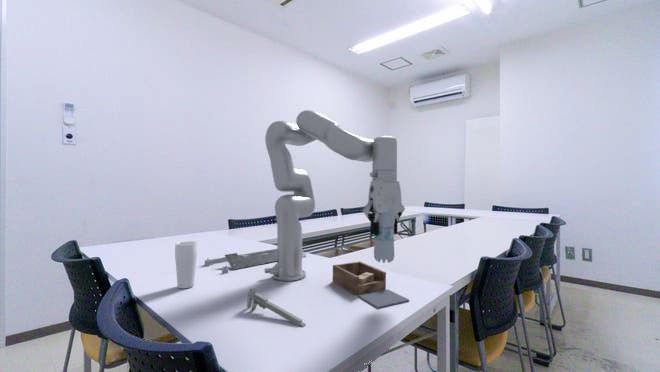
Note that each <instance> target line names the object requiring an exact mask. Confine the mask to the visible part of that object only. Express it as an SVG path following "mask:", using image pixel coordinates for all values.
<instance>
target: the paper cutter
mask: <svg viewBox="0 0 660 372" xmlns="http://www.w3.org/2000/svg"><path fill="white" fill-rule="evenodd" d="M306 256H307V253H306V252H303V251H302V257H303V258H304V257H306ZM226 262H228V264H229V266H230V267H231V269H232V270H237V269H238V270H239V269H244V268H248V267H252V266H259V265H263V264H267V263H268V264H269V263H273V262H277V248H273V249H267V250H260V251H253V252H249V253H248V252H247V253H241V254H238V253H237V252H235V253H234V252H233V253H227V254H224V257H218V258H212V259H211V258H210V259H209V258H207V259H205V260H204V266H205V267H210V266H213V265H215V264H220V263H226ZM221 274H222V275H225V274H229V268H228V267H227V265H225V266H222V269H221Z"/></svg>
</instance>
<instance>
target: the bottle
mask: <svg viewBox="0 0 660 372" xmlns="http://www.w3.org/2000/svg"><path fill="white" fill-rule="evenodd" d="M375 212H376V211H375ZM377 222H379V235H374V244H373V245H374V247H373V258H374V259H375V261H377V262H378V263H380V262H381V261H382V263H383V264H385V263H386V261H387V263H391V262H393V261H394V260H395V234H394V223H395V213H394V212H393V209H392V208H389V209H388V210H387V213H383V214H380V215H379V218H378V220H377Z"/></svg>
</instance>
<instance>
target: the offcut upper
mask: <svg viewBox="0 0 660 372" xmlns="http://www.w3.org/2000/svg"><path fill="white" fill-rule="evenodd" d="M373 281H374V274H373V273H368V272H365V273H363V274H361V275H359V285H360V284H365V283H371V282H373Z"/></svg>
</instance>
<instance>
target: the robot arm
mask: <svg viewBox="0 0 660 372" xmlns="http://www.w3.org/2000/svg"><path fill="white" fill-rule="evenodd" d="M295 120H296V121H295V122H296V123H293V122H289V121H285V120H276V121H273V122H272V123H270V125H269V126H268V127H267V129H266V132H265V138H264V140H265V148H266V151H267V153H268V156H269V161H270V167H271V173H272V178H273V182H274V186H275V188H276V190H277V191H279V192H282V193H283V192H284V193H288V192H289V193H290V192H291V193H293V194H285V195H282V196H280V197H278V198H277V199H276V201H275V203H274V204H275V205H274V213H275V216H276V228H277V231H276V233H277V235H276V239H277V240H276V241H277V242H276V243H277V244H276V245H277V246H276V247H277V248H276V249H277V261H276V263H275V264H274V266H272V267H265V268H264V274H266V275H267V274H270V275H272V278H273V279H274V280H278V281H283V282H285V281H286V282H289V281H290V282H292V281H297V280H301V279H304V278H305V277H306V271H305V270H304V269H302V268H303V258H302V252H303V229H302V225H301V222H300V220H299V219H301V218H302V219H303V218H308V217H310V216H312V215H313V213H314V212H315V209H316V202H315V200H316V199H315V195H314V192H313V191H314V190H313V187H312V186H313V185H312V180H311V178H310V175H309V174H308V172H307V171H306V170H304V169H301V168H295V167H294V163H293V158H292V157H293V156H292V155H291V153H290V151H289V149H288V148H287V146H286V145H289V146H290V145H291V146H297V147H302V146H305V145H308V144H310V143H312V142H315V141H318V142H321V143H323V144H324V145H325V146H326V147H327V148H328V149H329V150H331V151H333V152H334V153H336V154H338V155H340V156H341V157H344V158H346V159H347V160H351V161H357V162H364V163H370V162H371V163H372V164H371V165H372V171H371V172H370V173H369V176H370V177H371V178H372V179H371V181H370V184H369V189H368V198H367V199H368V202H367V203H366V205H365V206H363V208H362V209H361V211H362V213H364V215H365V217H366V219H368V221H369V222H370V234H371V235H374V236H375V235H379V222H377V220H378V218H379V215H380V214H383V213H387V210H388V209H389V208H392V209H393V212H394V213H395V223H394V235H395V234H396V235H397V234H398V221H400V218H401V217H402V215H403V214H404V211H406V208H405V206H404V205H403V204H402V191H401V190H402V189H401V184H400V181H399V180H397V179H398V141H397V138H396V137H394V136H391V135H389V136H388V135H387V136H386V135H384V136H383V135H382V136H376V137H374V138H373V139H369V138H365V137H362V136H358V135H355V134H353V133H351V132H349V131H347V130H344V129H342V127H341V128H340V125H339V123H338V122H336V121H334V120H332V119H330V118H329V117H327V116H326V115H324V114H322V113H320V112H316V111H314V110H309V109H308V110H307V109H305V110H302V111H301V112H299V114H297V117H296V119H295ZM375 211H376V212H375Z"/></svg>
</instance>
